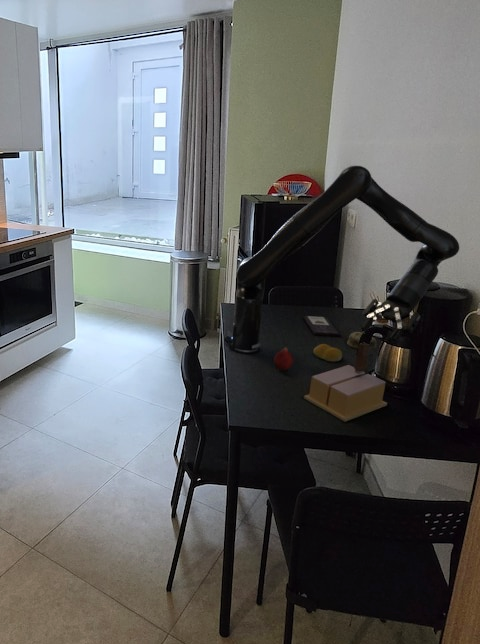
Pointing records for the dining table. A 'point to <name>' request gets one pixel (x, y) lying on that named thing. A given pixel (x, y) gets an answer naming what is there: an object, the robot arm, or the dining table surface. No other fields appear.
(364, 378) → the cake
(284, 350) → the onion
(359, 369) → the cake knife
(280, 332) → the dining table surface
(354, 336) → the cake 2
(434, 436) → the dining table surface
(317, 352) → the bread roll
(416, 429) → the dining table surface
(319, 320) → the chocolate bar
